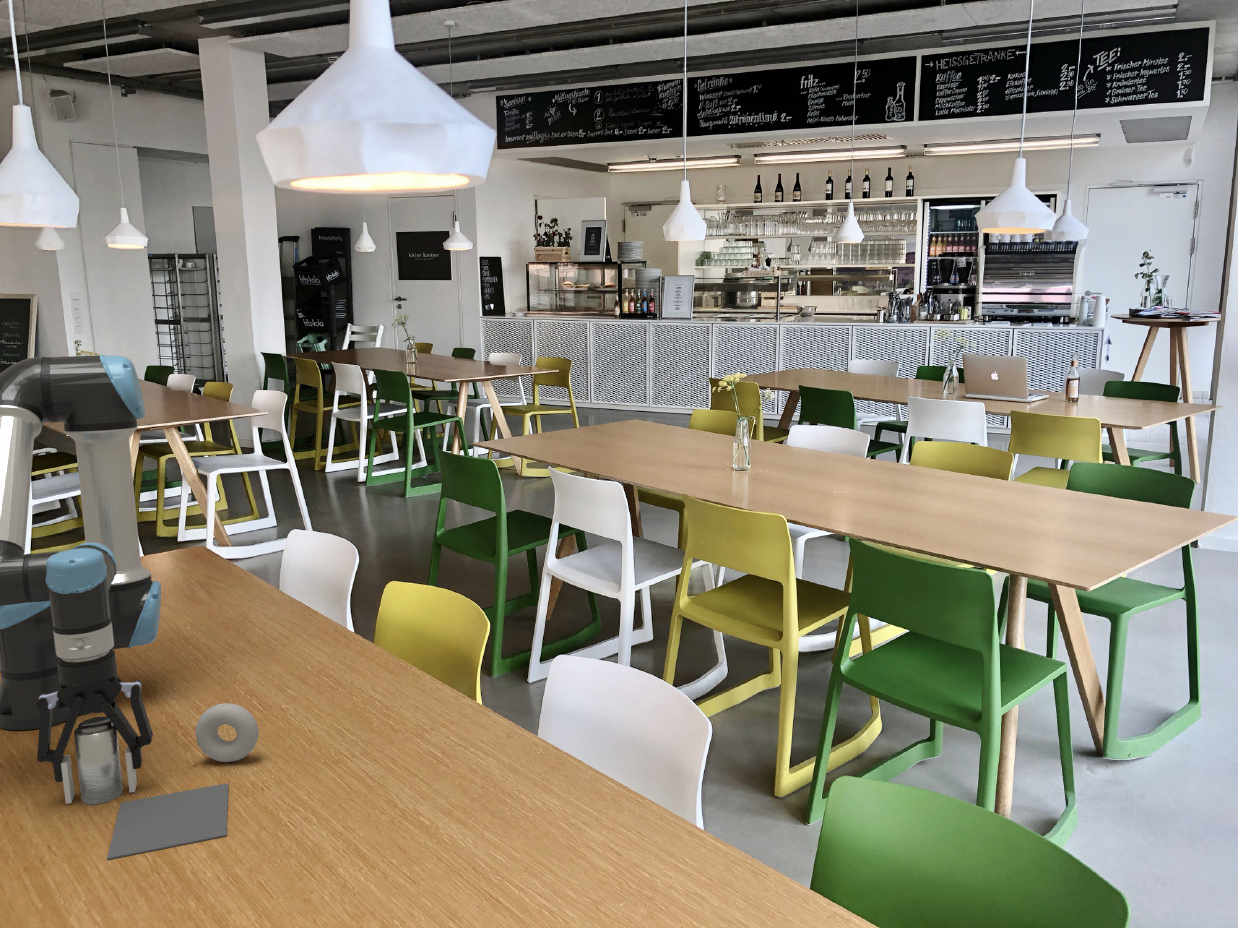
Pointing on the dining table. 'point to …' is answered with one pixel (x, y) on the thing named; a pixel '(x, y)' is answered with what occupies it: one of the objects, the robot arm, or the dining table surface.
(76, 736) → the shaker
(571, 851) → the dining table surface
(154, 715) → the dining table surface
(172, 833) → the mat
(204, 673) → the dining table surface
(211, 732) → the donut
